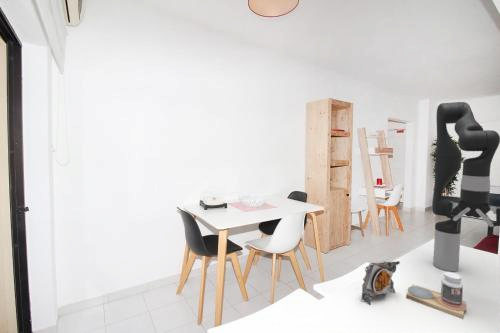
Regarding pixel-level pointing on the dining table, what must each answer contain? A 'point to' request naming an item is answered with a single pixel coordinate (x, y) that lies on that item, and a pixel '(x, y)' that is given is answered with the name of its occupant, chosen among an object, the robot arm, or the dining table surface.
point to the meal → (378, 279)
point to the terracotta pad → (452, 306)
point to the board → (435, 303)
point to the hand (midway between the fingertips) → (471, 233)
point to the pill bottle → (452, 289)
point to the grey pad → (420, 292)
